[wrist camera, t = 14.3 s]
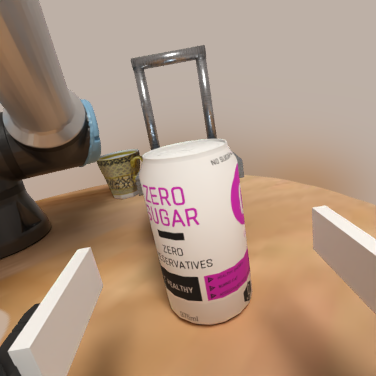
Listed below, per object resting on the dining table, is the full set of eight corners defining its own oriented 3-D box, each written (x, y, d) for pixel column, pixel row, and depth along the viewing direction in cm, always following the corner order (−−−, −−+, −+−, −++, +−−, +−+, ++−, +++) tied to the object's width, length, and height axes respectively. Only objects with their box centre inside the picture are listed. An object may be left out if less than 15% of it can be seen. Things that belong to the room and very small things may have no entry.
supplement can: (246, 266, 29) (230, 133, 25) (259, 327, 21) (240, 149, 17) (175, 273, 30) (147, 146, 26) (164, 334, 22) (120, 167, 18)
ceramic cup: (98, 200, 63) (86, 160, 59) (128, 186, 70) (119, 150, 67) (136, 204, 55) (125, 159, 52) (165, 188, 63) (157, 147, 60)
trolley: (258, 258, 30) (231, -6, 22) (153, 277, 30) (88, 20, 22) (224, 195, 51) (204, 48, 43) (163, 206, 51) (131, 61, 43)
